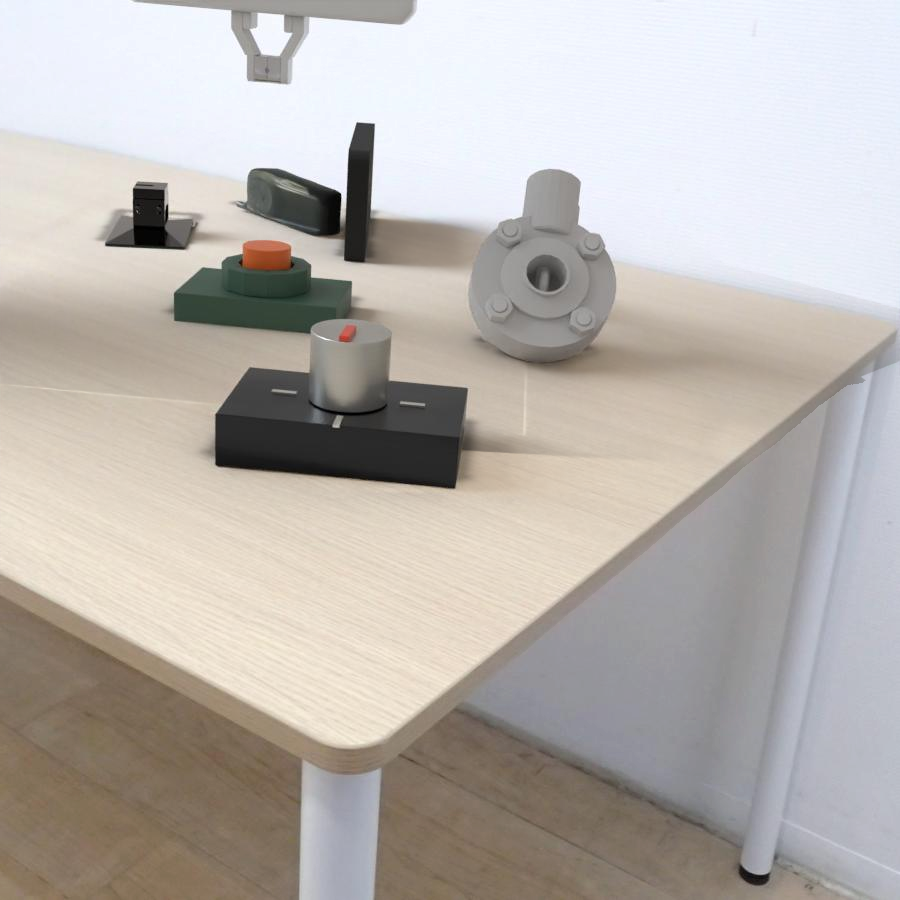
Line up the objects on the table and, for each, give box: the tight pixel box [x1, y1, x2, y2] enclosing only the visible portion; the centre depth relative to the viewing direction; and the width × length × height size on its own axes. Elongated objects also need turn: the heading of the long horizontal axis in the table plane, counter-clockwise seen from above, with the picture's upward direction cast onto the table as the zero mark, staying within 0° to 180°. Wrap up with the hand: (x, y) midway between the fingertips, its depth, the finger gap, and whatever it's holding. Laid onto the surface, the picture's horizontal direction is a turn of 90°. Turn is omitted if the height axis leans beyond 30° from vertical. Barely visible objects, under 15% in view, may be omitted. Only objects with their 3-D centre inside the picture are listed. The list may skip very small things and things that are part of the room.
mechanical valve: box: [467, 168, 617, 363], centre depth 91 cm, size 10×18×15 cm
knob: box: [308, 318, 393, 413], centre depth 65 cm, size 4×4×4 cm
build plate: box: [104, 181, 197, 251], centre depth 111 cm, size 12×7×5 cm, turn 8°
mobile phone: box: [236, 167, 343, 237], centre depth 120 cm, size 5×3×15 cm
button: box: [242, 239, 292, 270], centre depth 88 cm, size 4×4×2 cm
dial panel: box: [214, 366, 469, 490], centre depth 66 cm, size 13×9×3 cm, turn 86°
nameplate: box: [343, 121, 376, 262], centre depth 115 cm, size 21×2×10 cm, turn 2°
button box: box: [173, 253, 353, 334], centre depth 89 cm, size 12×8×4 cm, turn 86°
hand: (269, 82), depth 83 cm, fingers closed
